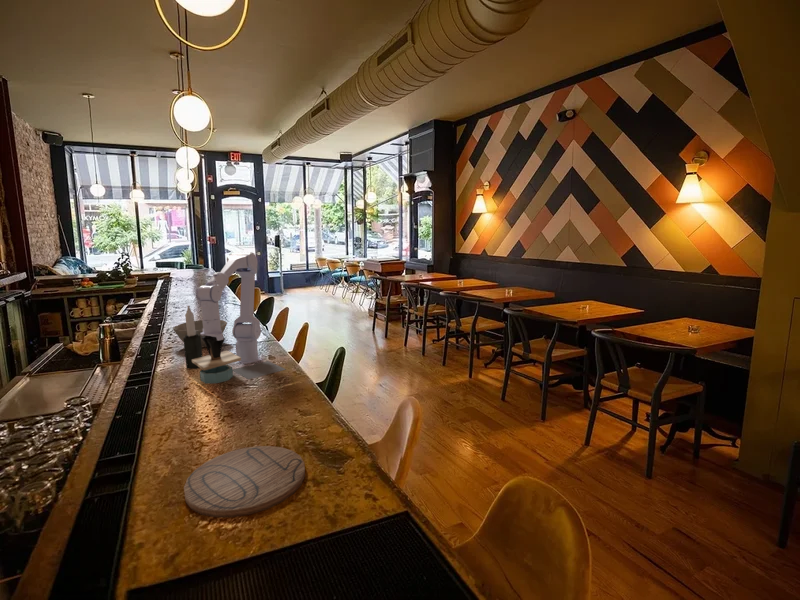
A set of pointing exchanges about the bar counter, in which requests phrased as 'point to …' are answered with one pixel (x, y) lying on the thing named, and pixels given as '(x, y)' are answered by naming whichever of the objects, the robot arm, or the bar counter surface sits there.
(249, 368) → the tray
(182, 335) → the ceramic bowl
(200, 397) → the bar counter surface
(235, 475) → the trivet
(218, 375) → the dish
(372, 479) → the bar counter surface
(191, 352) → the candle
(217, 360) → the lid
